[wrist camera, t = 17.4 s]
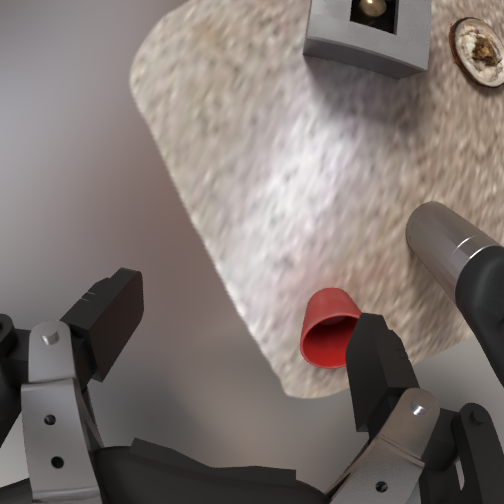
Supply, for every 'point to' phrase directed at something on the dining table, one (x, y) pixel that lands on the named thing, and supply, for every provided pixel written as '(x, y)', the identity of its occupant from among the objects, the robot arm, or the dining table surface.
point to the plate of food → (478, 51)
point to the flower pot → (328, 328)
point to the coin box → (371, 37)
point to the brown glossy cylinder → (368, 12)
